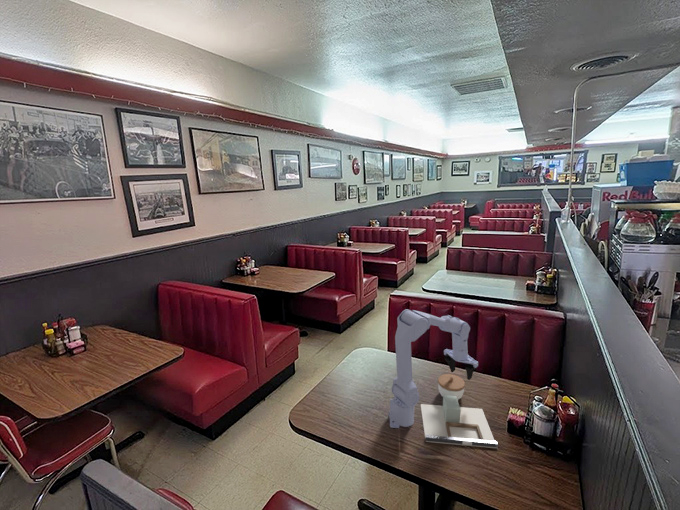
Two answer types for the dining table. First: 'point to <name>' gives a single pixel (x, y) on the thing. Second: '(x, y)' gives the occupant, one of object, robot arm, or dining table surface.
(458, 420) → the carton
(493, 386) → the dining table surface
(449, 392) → the lidded jar
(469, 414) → the white square tray
